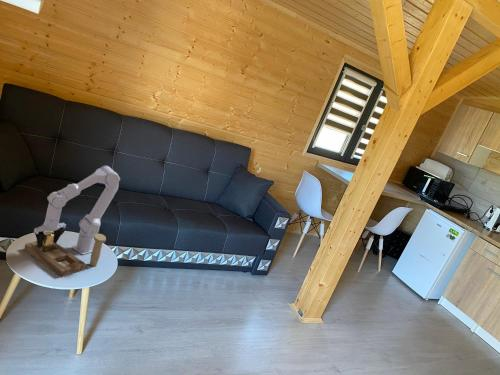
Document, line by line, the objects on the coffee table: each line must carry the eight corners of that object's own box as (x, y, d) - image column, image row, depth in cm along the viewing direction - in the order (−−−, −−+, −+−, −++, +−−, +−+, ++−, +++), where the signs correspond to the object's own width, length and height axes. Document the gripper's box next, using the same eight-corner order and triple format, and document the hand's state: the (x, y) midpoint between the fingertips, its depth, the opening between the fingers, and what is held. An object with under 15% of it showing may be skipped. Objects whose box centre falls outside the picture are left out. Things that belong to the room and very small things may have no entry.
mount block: (48, 243, 185) (49, 238, 184) (84, 269, 175) (85, 263, 175) (24, 249, 174) (25, 243, 174) (61, 277, 165) (62, 271, 164)
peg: (46, 249, 180) (50, 230, 178) (52, 253, 178) (56, 235, 176) (37, 251, 176) (41, 232, 174) (43, 256, 174) (48, 237, 172)
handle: (90, 268, 177) (97, 240, 174) (85, 261, 182) (92, 233, 178) (100, 267, 181) (107, 240, 177) (95, 260, 185) (102, 233, 181)
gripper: (61, 211, 181) (55, 236, 184) (32, 216, 168) (26, 243, 171) (70, 218, 178) (65, 243, 181) (42, 223, 165) (36, 250, 168)
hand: (47, 243), depth 176 cm, fingers open, 7 cm apart
